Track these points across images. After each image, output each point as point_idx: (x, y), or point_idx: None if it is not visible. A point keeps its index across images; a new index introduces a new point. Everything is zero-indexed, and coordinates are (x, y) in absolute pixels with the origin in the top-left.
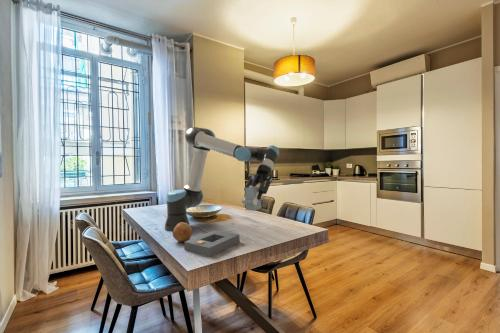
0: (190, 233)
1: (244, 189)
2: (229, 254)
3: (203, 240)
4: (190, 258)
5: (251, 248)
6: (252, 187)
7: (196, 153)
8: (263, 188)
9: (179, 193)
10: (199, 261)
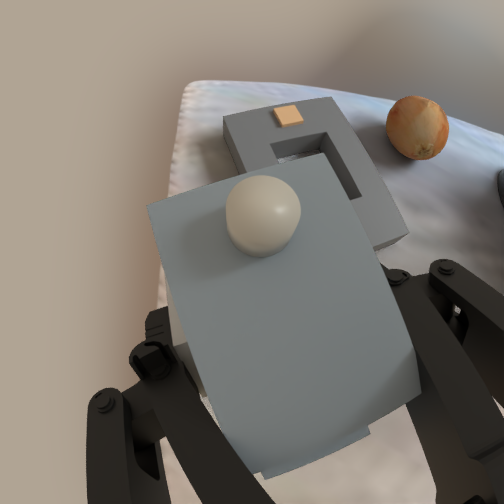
0: (397, 136)
1: (445, 262)
2: (196, 186)
3: (308, 134)
4: (251, 100)
5: None
6: (231, 239)
7: None
8: (122, 433)
9: None
10: (215, 107)
